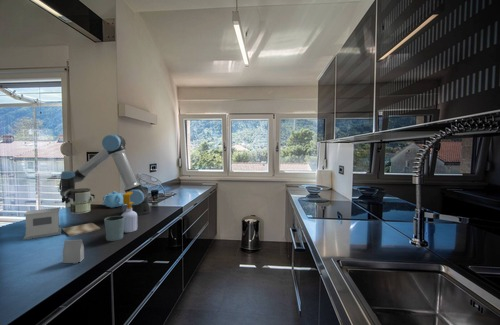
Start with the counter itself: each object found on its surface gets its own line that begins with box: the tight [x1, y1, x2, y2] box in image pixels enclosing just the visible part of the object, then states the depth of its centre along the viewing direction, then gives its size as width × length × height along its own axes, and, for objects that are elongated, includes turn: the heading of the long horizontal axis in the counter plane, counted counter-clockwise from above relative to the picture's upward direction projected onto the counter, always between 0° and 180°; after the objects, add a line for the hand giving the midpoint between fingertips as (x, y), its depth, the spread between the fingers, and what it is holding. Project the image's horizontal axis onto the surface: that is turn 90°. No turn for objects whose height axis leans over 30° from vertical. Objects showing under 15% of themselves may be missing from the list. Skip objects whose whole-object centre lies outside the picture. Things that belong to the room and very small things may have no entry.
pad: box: [61, 222, 101, 237], centre depth 146 cm, size 16×16×1 cm
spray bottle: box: [120, 192, 138, 233], centre depth 146 cm, size 9×9×25 cm
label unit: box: [23, 207, 62, 241], centre depth 137 cm, size 16×10×14 cm, turn 127°
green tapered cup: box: [103, 215, 124, 242], centre depth 133 cm, size 10×10×12 cm
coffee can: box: [70, 187, 91, 215], centre depth 145 cm, size 10×10×14 cm
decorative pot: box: [102, 190, 125, 209], centre depth 206 cm, size 16×16×14 cm
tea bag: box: [62, 239, 85, 264], centre depth 105 cm, size 4×7×10 cm, turn 105°
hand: (82, 200), depth 143 cm, fingers closed on coffee can, 10 cm apart
